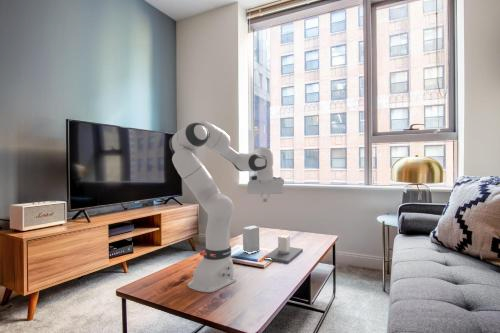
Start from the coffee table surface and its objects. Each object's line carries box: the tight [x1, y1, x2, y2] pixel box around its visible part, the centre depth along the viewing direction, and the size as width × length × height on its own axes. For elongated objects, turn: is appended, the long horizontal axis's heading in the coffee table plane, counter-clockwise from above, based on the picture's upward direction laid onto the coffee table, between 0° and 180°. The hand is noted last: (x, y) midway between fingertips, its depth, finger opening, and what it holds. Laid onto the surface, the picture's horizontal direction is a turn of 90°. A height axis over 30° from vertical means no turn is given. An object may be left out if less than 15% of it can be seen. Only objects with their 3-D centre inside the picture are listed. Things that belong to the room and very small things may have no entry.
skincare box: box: [242, 225, 260, 252], centre depth 169 cm, size 8×6×15 cm
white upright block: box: [277, 234, 291, 252], centre depth 163 cm, size 5×5×8 cm
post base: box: [263, 246, 304, 264], centre depth 163 cm, size 22×14×10 cm, turn 150°
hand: (265, 201), depth 161 cm, fingers closed
